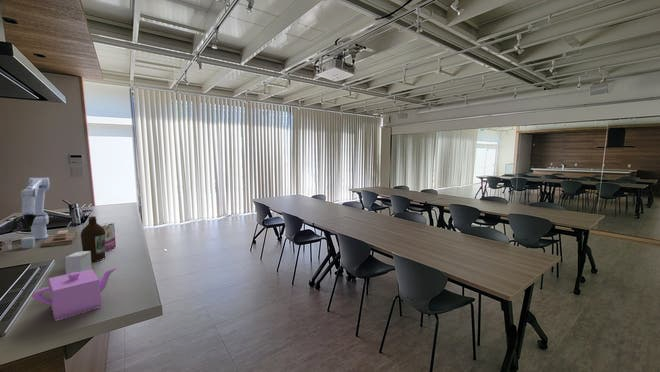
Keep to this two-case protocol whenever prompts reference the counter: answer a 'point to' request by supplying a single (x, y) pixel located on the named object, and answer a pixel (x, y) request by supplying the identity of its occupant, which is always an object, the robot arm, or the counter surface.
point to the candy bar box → (109, 235)
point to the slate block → (28, 242)
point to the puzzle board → (60, 238)
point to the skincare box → (78, 262)
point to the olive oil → (94, 239)
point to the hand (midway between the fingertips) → (27, 227)
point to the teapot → (73, 292)
